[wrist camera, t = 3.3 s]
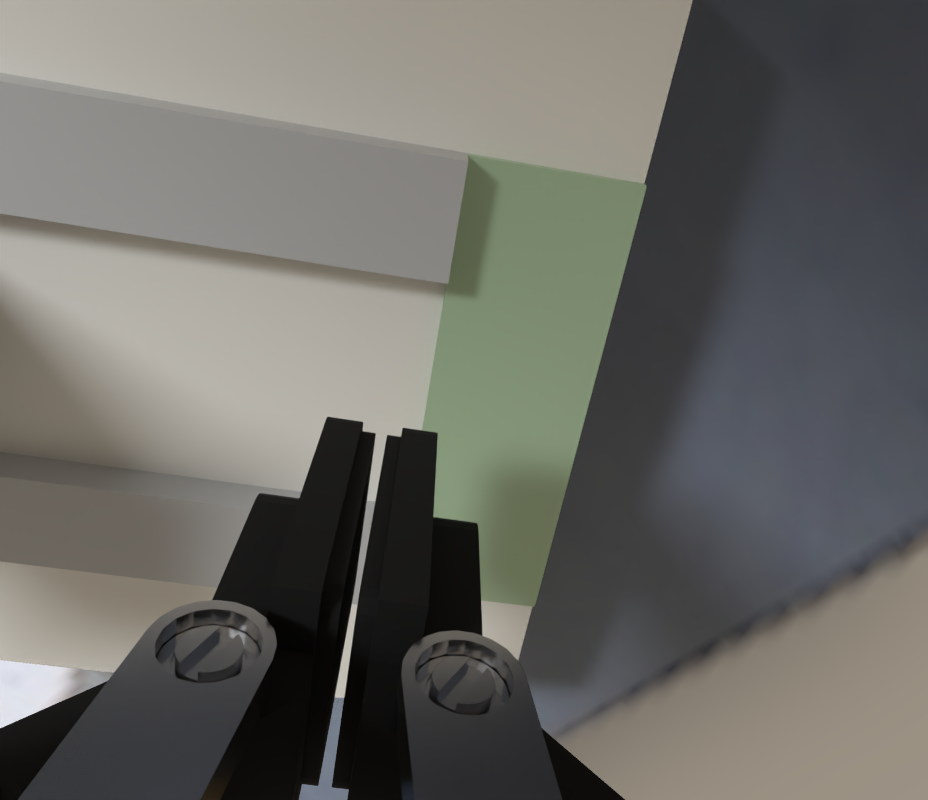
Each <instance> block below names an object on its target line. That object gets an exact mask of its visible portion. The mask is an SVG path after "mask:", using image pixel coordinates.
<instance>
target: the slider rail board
mask: <svg viewBox="0 0 928 800" xmlns="http://www.w3.org/2000/svg"><path fill="white" fill-rule="evenodd" d="M692 1H693V0H0V660H5V661H14V662H23V663H32V664H41V665H50V666H59V667H68V668H77V669H86V670H95V671H104V672H113V673H114V672H115V671H116V670H117V668H118V667H119V666H120V664H121V663H122V662H123V660H124V659H125V658H126V656H127V655H128V654H129V652H130V651H131V650H132V648H133V647H134V646H135V645H136V643H137V642H138V641H139V639H140V638H141V637H142V635H143V634H144V633H145V631H146V630H147V629H148V628H149V627H150V626H151V625H152V624H153V623H154V622H155V621H156V620H157V619H158V618H159V617H160V616H162V615H164V614H166V613H168V612H170V611H171V610H173V609H175V608H177V607H180V606H183V605H187V604H190V603H194V602H198V601H211V600H212V599H213V597H214V594H215V592H216V590H217V587H218V585H219V583H220V580H221V578H222V576H223V573H224V571H225V569H226V566H227V564H228V562H229V559H230V557H231V555H232V553H233V550H234V548H235V546H236V543H237V541H238V539H239V536H240V534H241V532H242V529H243V527H244V525H245V522H246V520H247V518H248V515H249V513H250V511H251V508H252V506H253V504H254V501H255V499H256V497H257V496H258V494H260V493H264V494H272V495H279V496H286V497H293V498H300V495H301V492H302V489H303V486H304V483H305V480H306V477H307V474H308V471H309V468H310V465H311V462H312V459H313V456H314V453H315V450H316V447H317V444H318V442H319V439H320V436H321V433H322V430H323V427H324V424H325V421H326V418H327V417H334V418H340V419H347V420H354V421H361V422H363V431H364V432H371V433H376V436H375V444H374V452H373V459H372V466H371V473H370V481H369V488H368V495H367V503H366V510H365V517H364V525H363V532H362V539H361V547H360V554H359V561H358V569H357V576H356V583H355V589H354V595H353V601H352V606H351V612H350V617H349V622H348V628H347V633H346V639H345V644H344V649H343V655H342V660H341V665H340V671H339V676H338V682H337V687H336V692H335V697H339V698H344V697H345V690H346V682H347V675H348V668H349V661H350V654H351V647H352V640H353V632H354V625H355V618H356V611H357V605H358V598H359V592H360V586H361V580H362V575H363V569H364V563H365V558H366V552H367V546H368V540H369V535H370V529H371V523H372V518H373V512H374V506H375V501H376V495H377V489H378V484H379V478H380V472H381V467H382V461H383V455H384V450H385V444H386V438H387V435H392V436H399V437H401V435H402V428H409V429H415V430H422V431H429V432H436V433H438V439H437V458H436V477H435V496H434V515H433V517H438V518H445V519H452V520H459V521H467V522H474V523H477V524H478V530H479V556H480V582H481V609H482V635H483V636H484V637H487V638H490V639H492V640H494V641H495V642H497V643H498V644H500V645H502V646H503V647H505V648H506V649H508V651H509V652H510V653H511V654H512V655H513V656H514V657H515V658H516V659H517V660H518V659H519V656H520V652H521V648H522V644H523V640H524V637H525V633H526V629H527V625H528V622H529V618H530V614H531V610H532V607H535V605H536V601H537V597H538V593H539V590H540V586H541V582H542V578H543V575H544V571H545V567H546V563H547V560H548V556H549V552H550V548H551V545H552V541H553V537H554V533H555V530H556V526H557V522H558V518H559V515H560V511H561V507H562V503H563V500H564V496H565V492H566V488H567V484H568V481H569V477H570V473H571V469H572V466H573V462H574V458H575V454H576V451H577V447H578V443H579V439H580V436H581V432H582V428H583V424H584V421H585V417H586V413H587V409H588V406H589V402H590V398H591V394H592V391H593V387H594V383H595V379H596V376H597V372H598V368H599V364H600V361H601V357H602V353H603V349H604V346H605V342H606V338H607V334H608V331H609V327H610V323H611V319H612V315H613V312H614V308H615V304H616V300H617V297H618V293H619V289H620V285H621V282H622V278H623V274H624V270H625V267H626V263H627V259H628V255H629V252H630V248H631V244H632V240H633V237H634V233H635V229H636V225H637V222H638V218H639V214H640V210H641V207H642V203H643V199H644V195H645V192H646V188H647V186H646V185H645V184H644V183H645V179H646V175H647V172H648V168H649V164H650V160H651V157H652V153H653V149H654V145H655V141H656V138H657V134H658V130H659V126H660V122H661V119H662V115H663V111H664V107H665V104H666V100H667V96H668V92H669V88H670V85H671V81H672V77H673V73H674V70H675V66H676V62H677V58H678V54H679V51H680V47H681V43H682V39H683V36H684V32H685V28H686V24H687V20H688V17H689V13H690V9H691V5H692Z"/></svg>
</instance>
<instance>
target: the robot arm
mask: <svg viewBox="0 0 928 800" xmlns="http://www.w3.org/2000/svg"><path fill="white" fill-rule="evenodd" d="M375 436H376V433H371V432H364V431H363V422H361V421H354V420H347V419H340V418H334V417H327V418H326V421H325V424H324V427H323V430H322V433H321V436H320V439H319V442H318V444H317V447H316V450H315V453H314V456H313V459H312V462H311V465H310V468H309V471H308V474H307V477H306V480H305V483H304V486H303V489H302V492H301V495H300V498H293V497H286V496H279V495H272V494H264V493H260V494H258V496H257V497H256V499H255V501H254V504H253V506H252V508H251V511H250V513H249V515H248V518H247V520H246V522H245V525H244V527H243V529H242V532H241V534H240V536H239V539H238V541H237V543H236V546H235V548H234V550H233V553H232V555H231V557H230V559H229V562H228V564H227V566H226V569H225V571H224V573H223V576H222V578H221V580H220V583H219V585H218V587H217V590H216V592H215V594H214V597H213V599H212V600H211V601H198V602H194V603H190V604H187V605H183V606H180V607H177V608H175V609H173V610H171V611H170V612H168V613H166V614H164V615H162V616H160V617H159V618H158V619H157V620H156V621H155V622H154V623H153V624H152V625H151V626H150V627H149V628H148V629H147V630H146V631H145V633H144V634H143V635H142V637H141V638H140V639H139V641H138V642H137V643H136V645H135V646H134V647H133V648H132V650H131V651H130V652H129V654H128V655H127V656H126V658H125V659H124V660H123V662H122V663H121V664H120V666H119V667H118V668H117V670H116V671H115V672H114V674H113V675H112V676H111V677H110V679H109V680H108V681H107V682H105V683H102V684H100V685H98V686H96V687H93V688H91V689H89V690H86V691H84V692H82V693H80V694H77V695H75V696H73V697H71V698H68V699H66V700H64V701H62V702H59V703H57V704H55V705H52V706H50V707H48V708H46V709H43V710H41V711H39V712H37V713H34V714H32V715H30V716H28V717H25V718H23V719H21V720H18V721H16V722H14V723H12V724H9V725H7V726H5V727H3V728H0V800H299V795H300V790H301V785H302V784H307V785H316V786H318V783H319V778H320V773H321V768H322V762H323V757H324V752H325V746H326V741H327V735H328V730H329V725H330V719H331V714H332V709H333V703H334V698H335V692H336V687H337V682H338V676H339V671H340V665H341V660H342V655H343V649H344V644H345V639H346V633H347V628H348V622H349V617H350V612H351V606H352V601H353V595H354V589H355V583H356V576H357V569H358V561H359V554H360V547H361V539H362V532H363V525H364V517H365V510H366V503H367V495H368V488H369V481H370V473H371V466H372V459H373V452H374V444H375ZM437 439H438V433H436V432H429V431H422V430H415V429H409V428H402V435H401V437H399V436H392V435H387V438H386V444H385V450H384V455H383V461H382V467H381V472H380V478H379V484H378V489H377V495H376V501H375V506H374V512H373V518H372V523H371V529H370V535H369V540H368V546H367V552H366V558H365V563H364V569H363V575H362V580H361V586H360V592H359V598H358V605H357V611H356V618H355V625H354V632H353V640H352V647H351V654H350V661H349V668H348V675H347V682H346V690H345V697H344V704H343V711H342V718H341V725H340V732H339V739H338V747H337V754H336V761H335V768H334V775H333V782H332V787H334V788H343V789H349V793H348V799H347V800H625V799H623V798H622V797H621V796H620V795H619V794H618V793H616V792H615V791H614V790H613V789H612V788H611V787H609V786H608V785H607V784H606V783H605V782H604V781H602V780H601V779H600V778H599V777H598V776H597V775H595V774H594V773H593V772H592V771H591V770H589V769H588V768H587V767H586V766H585V765H584V764H583V763H581V762H580V761H579V760H578V759H577V758H576V757H574V756H573V755H572V754H571V753H570V752H569V751H567V750H566V749H565V748H564V747H563V746H562V745H560V744H559V743H558V742H557V741H556V740H555V739H553V738H552V737H551V736H550V735H549V734H548V733H546V732H545V731H544V730H543V729H542V728H541V725H540V722H539V718H538V715H537V712H536V708H535V705H534V701H533V698H532V695H531V691H530V688H529V684H528V681H527V678H526V675H525V673H524V671H523V669H522V667H521V665H520V663H519V661H518V660H517V659H516V658H515V657H514V656H513V655H512V654H511V653H510V652H509V651H508V649H506V648H505V647H503V646H502V645H500V644H498V643H497V642H495V641H494V640H492V639H490V638H487V637H484V636H483V635H482V609H481V582H480V556H479V530H478V524H477V523H474V522H467V521H459V520H452V519H445V518H438V517H433V515H434V496H435V477H436V458H437Z"/></svg>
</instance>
